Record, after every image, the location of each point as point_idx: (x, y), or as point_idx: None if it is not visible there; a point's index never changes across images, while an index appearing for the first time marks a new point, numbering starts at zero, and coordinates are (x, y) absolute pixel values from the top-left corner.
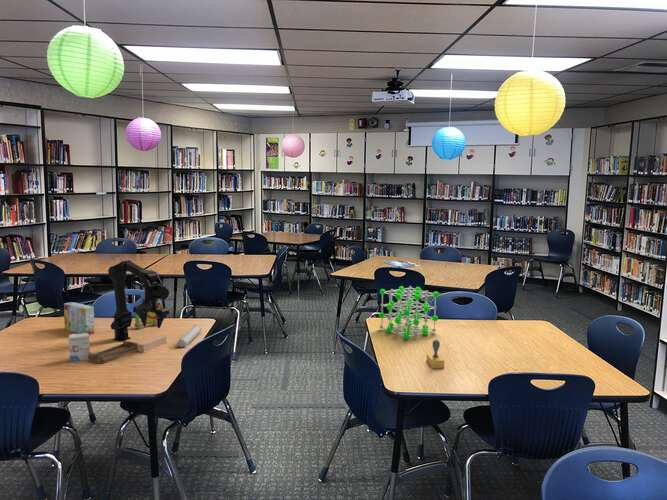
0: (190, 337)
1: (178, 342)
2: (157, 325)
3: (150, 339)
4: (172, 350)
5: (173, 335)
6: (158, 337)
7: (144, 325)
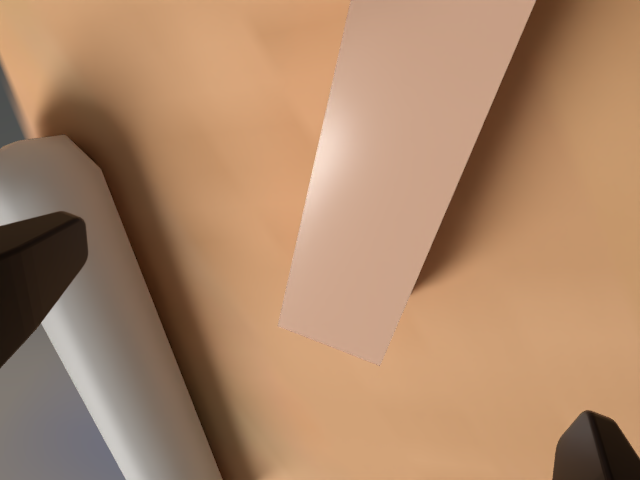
0: None
1: (46, 160)
2: (9, 249)
3: (440, 191)
4: (82, 17)
5: (370, 471)
6: (359, 289)
7: (581, 425)
